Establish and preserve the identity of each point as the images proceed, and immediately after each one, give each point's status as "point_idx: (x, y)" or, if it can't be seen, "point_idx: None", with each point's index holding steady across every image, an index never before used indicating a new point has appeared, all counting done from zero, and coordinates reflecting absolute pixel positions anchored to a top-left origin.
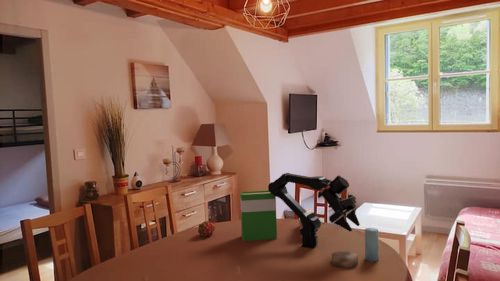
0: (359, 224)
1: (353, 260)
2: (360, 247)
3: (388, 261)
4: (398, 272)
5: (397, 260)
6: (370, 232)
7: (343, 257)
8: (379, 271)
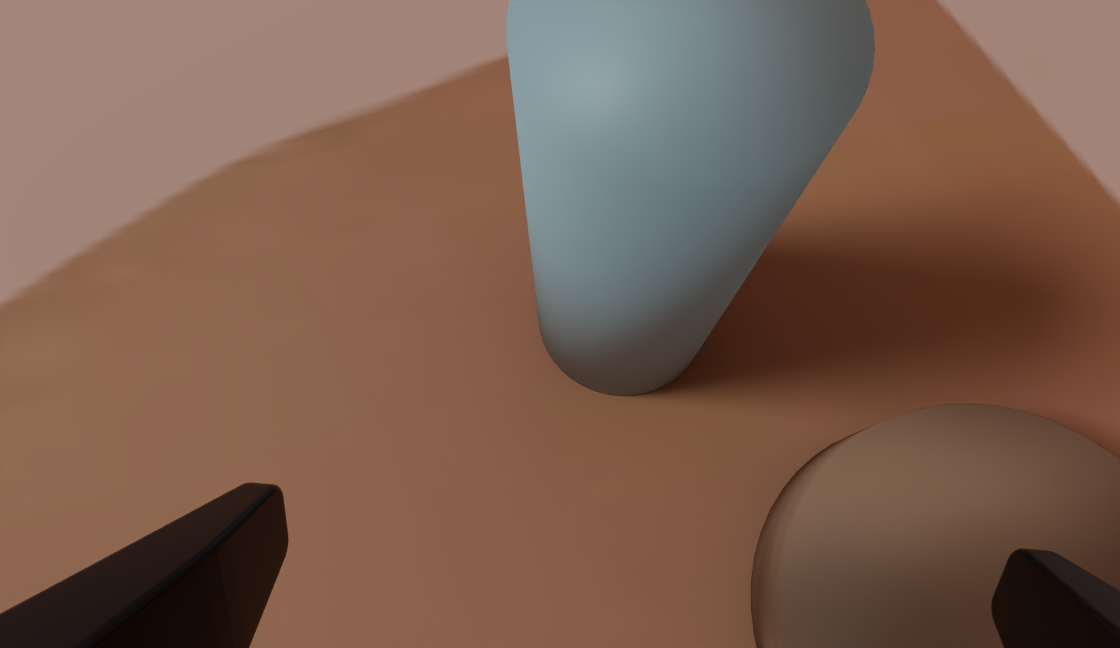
0: (269, 486)
1: (1075, 434)
2: None
3: None
4: None
5: None
6: (861, 29)
7: None
8: (934, 159)
